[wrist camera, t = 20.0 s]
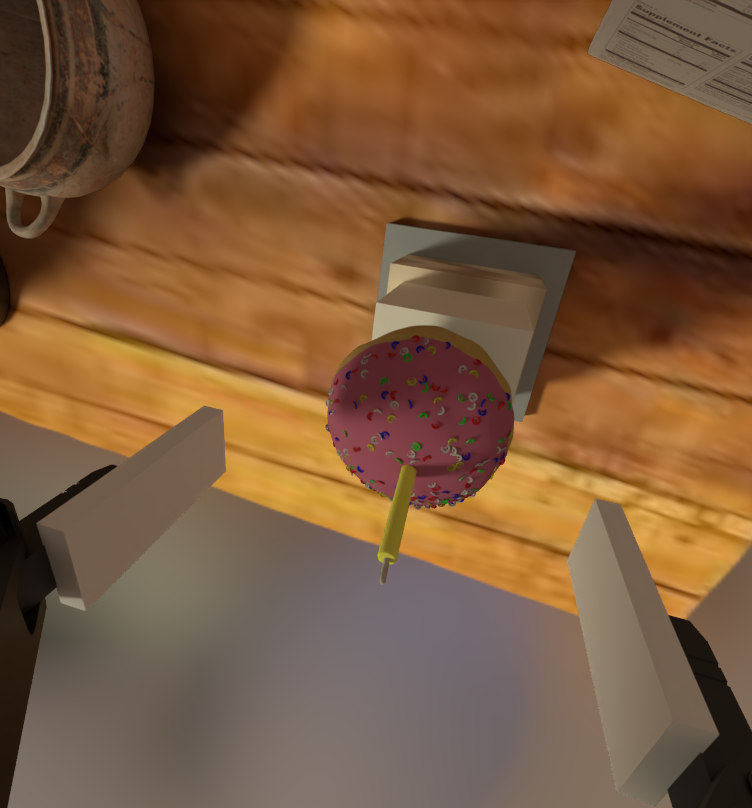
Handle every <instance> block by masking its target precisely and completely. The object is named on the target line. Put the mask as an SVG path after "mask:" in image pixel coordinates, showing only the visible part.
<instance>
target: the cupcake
mask: <svg viewBox="0 0 752 808" xmlns="http://www.w3.org/2000/svg"><path fill="white" fill-rule="evenodd" d="M328 394H329V399H328V400H326V405H327V406H328V424H327V425H326V426H325V428H326V430H327V431H328V432H330V434H331V437H332V440H333V445H334V447H336V450H337V454H338V455H339V456H340V457H341V460H342V461H343V462H344V463H345V464H346V465H347V467H346V469H347V470H348V471H350V472H351V475H353V473H354V474H355V475H356V476H357V477H358V478H359V479H360V481H361V483H363V484H365V486H366V487H367V488H370V489H371V490H373V491H377V492H378V493H379V495H380V496H382V497H386V496H387V497H388V498H389V499H390V500H391V501H392V505H391V508H390V512H389V516H388V519H387V523H386V527H385V530H384V534H383V538H382V541H381V545H380V548H379V552H378V559H379V561H380V562H382V563H383V566H382V570H381V574H380V584H381V585H384V584H385V582H386V576H387V572H388V567H389V565H392V564H394V563H395V562H396V560H397V556H398V552H399V547H400V543H401V538H402V534H403V530H404V525H405V521H406V517H407V512H408V508H409V505H411V504H413V505H414V508H415V509H417V510H418V509H420V508H421V506H424V507H425V508H426V509H430V506H431V507H432V508H436V507H437V506H436V505H437V504H438V506H439V507H443V506H444V505H445V504H447V503H449V506H450V507H453V506H455V504H456V503H458V502H463V501H464V498H467V497H469V496H470V497H471V498H472V497H474V496H475V495H476V492H477V491H479V490H480V489H481V488H482V487H483V486H484V485H485V484H486V482H487V481H488V480H489V479H492V478H493V474H494V473H495V471H496V470H497V469H498V467H499V466H500V465H503V464H504V462H505V457H506V456H507V451H508V449H509V446H510V444H511V441H512V438H513V431H514V411H513V407H512V394H511V389H510V386H509V384H508V382H507V381H506V379H505V378H504V376H503V375H502V373H501V372H500V371H499V369H498V368H497V366H496V365H495V364H494V362H493V361H492V359H491V358H490V356H489V355H488V354H487V352H486V351H485V350H484V349H483V348H482V347H481V346H480V345H479V344H477V343H475V342H474V341H472V340H469V339H467V338H464V337H462V336H460V335H458V334H456V333H454V332H452V331H450V330H447V329H445V328H442V327H439V326H432V325H418V326H410V327H406V328H402V329H398V330H395V331H392V332H389V333H387V334H385V335H383V336H381V337H379V338H377V339H375V340H372V341H370V342H368V343H366V344H363V345H360V346H359V347H357V348H356V349H355V350H353V351H352V352H351V353H350V354H349V355H348V356H347V357H346V358H345V359H344V360H343V362H342V363H341V364H340V366H339V367H338V369H337V370H336V372H335V374H334V377H333V380H332V385H331V389H330V390H329V392H328ZM328 401H329V402H328ZM327 402H328V403H327ZM327 426H328V427H327ZM327 428H328V429H327ZM349 469H350V470H349ZM366 484H367V485H366ZM473 494H474V495H473ZM392 499H393V500H392ZM458 500H459V501H458ZM455 501H456V502H455ZM453 502H454V503H453ZM450 503H451V504H453V505H451V504H450ZM416 505H417V507H418V506H419V507H418V508H417V507H416ZM425 505H426V506H427V505H428V506H427V507H426V506H425ZM433 506H434V507H433Z"/></svg>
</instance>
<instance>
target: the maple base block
mask: <svg viewBox="0 0 752 808" xmlns="http://www.w3.org/2000/svg"><path fill="white" fill-rule="evenodd" d="M402 282H407V283H412V284H418V285H424V286H429V287H435V288H441V289H446V290H452V291H458V292H463V293H469V294H475V295H480V296H486V297H492V298H497V299H503V300H509V301H514V302H520V303H526V306H527V310H528V314H529V317H530V321H531V325H532V329H533V334H534V330H535V327H536V324H537V320H538V317H539V314H540V310H541V307H542V303H543V300H544V297H545V293H546V290H547V289H546V287H545V285H544V283H543V282H542V280H541V278H540V276H539V275H533V274H526V273H520V272H514V271H508V270H502V269H495V268H489V267H483V266H477V265H471V264H464V263H458V262H452V261H446V260H440V259H434V258H427V257H421V256H415V255H409V254H408V255H406V256H404V257H402V258H400V259H398V260H396V261H394V262H392V263H391V264H390V271H389V279H388V286H387V294H388V293H389V292H391V291H392V290H393V289H395V288H396V287H397V286H399V285H400V284H401V283H402ZM387 294H386V295H387ZM532 337H533V335H532ZM531 341H532V338H531ZM531 341H530V344H531ZM529 347H530V345H529ZM528 351H529V348H528ZM528 351H527V354H528ZM526 357H527V355H526ZM525 361H526V358H525ZM525 361H524V364H525ZM523 367H524V365H523ZM522 371H523V368H522ZM522 371H521V374H522ZM520 378H521V375H520ZM520 378H519V381H520ZM519 381H518V384H519ZM517 388H518V385H517ZM517 388H516V391H517ZM516 391H515V394H516ZM514 398H515V395H514ZM514 398H513V401H514ZM513 401H512V404H513Z"/></svg>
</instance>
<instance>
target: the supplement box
mask: <svg viewBox="0 0 752 808" xmlns="http://www.w3.org/2000/svg"><path fill="white" fill-rule="evenodd" d="M588 54H590V55H591V56H593V57H595V58H598V59H600V60H602V61H605V62H607V63H609V64H612V65H614V66H616V67H619V68H621V69H623V70H626V71H628V72H630V73H633V74H635V75H637V76H640V77H642V78H644V79H647V80H649V81H651V82H654V83H656V84H658V85H661V86H663V87H665V88H668V89H670V90H672V91H675V92H677V93H679V94H682V95H684V96H686V97H689V98H691V99H693V100H695V101H698V102H700V103H702V104H705V105H707V106H709V107H712V108H714V109H716V110H719V111H721V112H724V113H726V114H728V115H731V116H733V117H736V118H738V119H740V120H743V121H745V122H748V123H750V124H752V0H612V2H611V4H610V6H609V8H608V10H607V12H606V14H605V16H604V18H603V20H602V22H601V24H600V26H599V28H598V30H597V32H596V34H595V36H594V38H593V40H592V42H591V44H590V47H589V50H588Z"/></svg>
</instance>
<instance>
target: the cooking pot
mask: <svg viewBox="0 0 752 808" xmlns="http://www.w3.org/2000/svg"><path fill="white" fill-rule="evenodd" d="M154 86H155V78H154V67H153V56H152V50H151V46H150V41H149V36H148V31H147V27H146V23H145V20H144V17H143V14H142V11H141V8H140V5H139V2H138V0H0V186H3V187H5V192H6V213H7V221H8V225H9V227H10V229H11V230H12V231H13V232H14V233H15V234H16V235H18V236H20V237H23V238H35V237H38V236H40V235H41V234H42V233H44V232H45V231H46V230H47V229H48V228H49V227H50V225H51V224H52V223H53V221H54V219H55V218H56V216H57V214H58V212H59V210H60V208H61V206H62V203H63V201H64V199H65V198H74V197H81V196H84V195H87V194H90V193H93V192H96V191H98V190H101V189H103V188H104V187H106V186H107V185H109V184H110V183H111V182H113V181H114V180H116V179H117V178H119V177H120V176H121V175H122V174H123V173H124V172H125V171H126V170H127V169H128V167H129V166H130V165H131V164H132V163H133V162H134V160H135V159H136V157H137V155H138V153H139V152H140V150H141V148H142V146H143V144H144V142H145V139H146V136H147V133H148V130H149V127H150V123H151V117H152V112H153V106H154ZM26 194H27V195H33V196H39V197H41V202H42V207H41V211H40V214H39V215H38V217H37V218H36V219H35V221H34V222H33V223H32V224H31V225H29V226H27V227H26V226H23V225H22V218H21V215H22V205H23V201H24V198H25V195H26Z"/></svg>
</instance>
